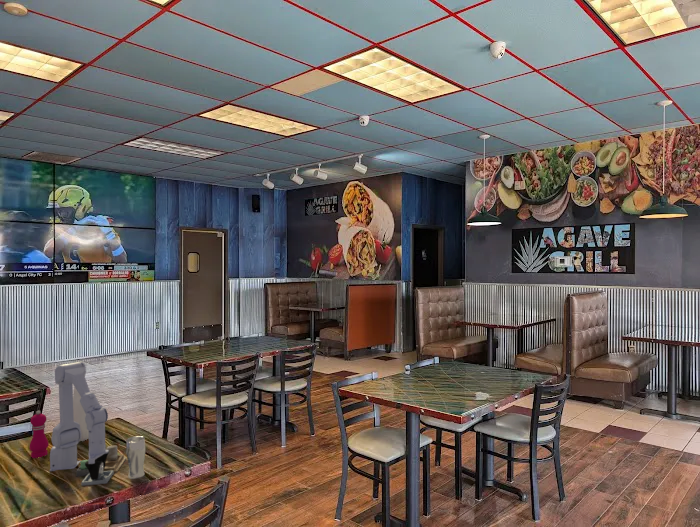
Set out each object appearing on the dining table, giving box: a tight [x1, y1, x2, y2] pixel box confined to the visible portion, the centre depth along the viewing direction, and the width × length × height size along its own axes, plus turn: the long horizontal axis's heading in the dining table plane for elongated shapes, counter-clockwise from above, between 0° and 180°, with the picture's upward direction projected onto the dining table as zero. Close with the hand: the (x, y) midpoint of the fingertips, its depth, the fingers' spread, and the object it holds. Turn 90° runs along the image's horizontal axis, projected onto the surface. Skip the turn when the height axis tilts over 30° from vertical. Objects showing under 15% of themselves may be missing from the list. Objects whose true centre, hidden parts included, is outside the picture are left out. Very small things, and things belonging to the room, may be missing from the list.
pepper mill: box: [28, 410, 50, 459], centre depth 222 cm, size 7×7×20 cm
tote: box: [80, 470, 115, 487], centre depth 195 cm, size 9×9×2 cm
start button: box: [79, 459, 88, 469], centre depth 201 cm, size 3×3×4 cm
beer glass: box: [125, 435, 146, 480], centre depth 198 cm, size 7×7×15 cm
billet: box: [92, 462, 104, 481], centre depth 195 cm, size 4×4×6 cm
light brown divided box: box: [104, 444, 127, 473], centre depth 208 cm, size 9×14×7 cm, turn 10°
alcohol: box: [73, 385, 89, 443], centre depth 241 cm, size 9×9×30 cm
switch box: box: [75, 465, 89, 477], centre depth 201 cm, size 5×5×3 cm
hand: (97, 475), depth 195 cm, fingers open, 7 cm apart
